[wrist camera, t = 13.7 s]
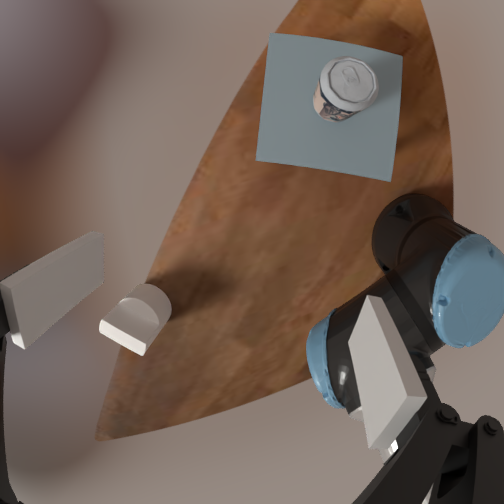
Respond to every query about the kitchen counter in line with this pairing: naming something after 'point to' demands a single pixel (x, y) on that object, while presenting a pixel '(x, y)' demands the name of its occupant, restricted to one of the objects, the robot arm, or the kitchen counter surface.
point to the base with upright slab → (137, 318)
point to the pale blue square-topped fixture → (315, 127)
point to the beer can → (345, 89)
